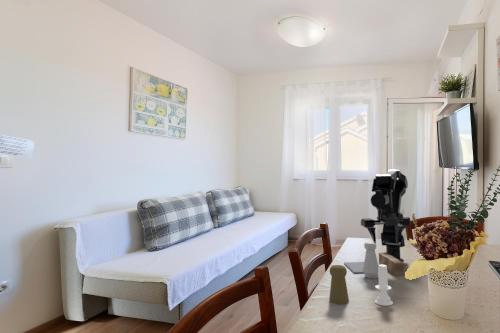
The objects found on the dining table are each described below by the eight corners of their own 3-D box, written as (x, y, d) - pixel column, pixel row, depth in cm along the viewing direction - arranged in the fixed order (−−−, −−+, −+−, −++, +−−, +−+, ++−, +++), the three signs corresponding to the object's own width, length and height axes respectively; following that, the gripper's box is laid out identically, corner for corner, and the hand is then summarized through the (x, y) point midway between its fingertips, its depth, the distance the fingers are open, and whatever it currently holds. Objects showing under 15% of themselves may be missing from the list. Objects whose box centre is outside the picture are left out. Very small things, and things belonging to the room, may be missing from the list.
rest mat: (344, 263, 156) (344, 262, 156) (367, 263, 156) (367, 261, 156) (354, 273, 142) (353, 272, 142) (379, 272, 142) (379, 271, 142)
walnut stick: (379, 264, 154) (378, 252, 154) (386, 264, 154) (386, 252, 154) (395, 275, 138) (394, 262, 138) (403, 275, 138) (402, 262, 138)
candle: (386, 307, 108) (385, 267, 108) (371, 302, 112) (369, 263, 112) (396, 302, 111) (395, 263, 111) (381, 298, 115) (380, 260, 115)
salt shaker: (380, 279, 133) (379, 244, 133) (364, 279, 134) (363, 244, 134) (378, 274, 139) (377, 240, 139) (362, 274, 140) (361, 240, 140)
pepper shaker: (345, 305, 110) (344, 269, 110) (326, 302, 113) (325, 266, 113) (351, 299, 115) (350, 264, 115) (333, 296, 118) (331, 262, 118)
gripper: (369, 208, 142) (370, 248, 142) (416, 206, 142) (417, 246, 142) (359, 205, 153) (361, 242, 153) (403, 203, 153) (405, 240, 153)
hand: (386, 242), depth 150 cm, fingers open, 9 cm apart
